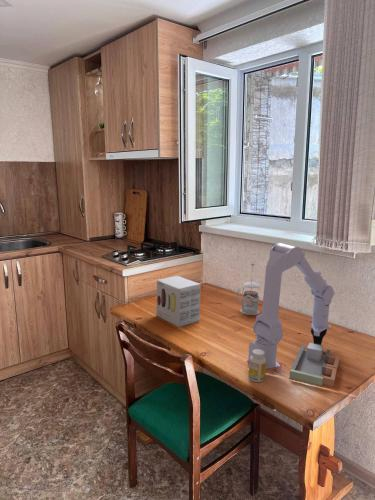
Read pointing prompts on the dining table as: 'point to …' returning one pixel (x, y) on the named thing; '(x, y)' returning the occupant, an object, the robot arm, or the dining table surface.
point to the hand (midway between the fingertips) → (317, 346)
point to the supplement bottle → (257, 365)
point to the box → (314, 369)
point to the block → (314, 351)
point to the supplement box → (178, 300)
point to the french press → (253, 306)
